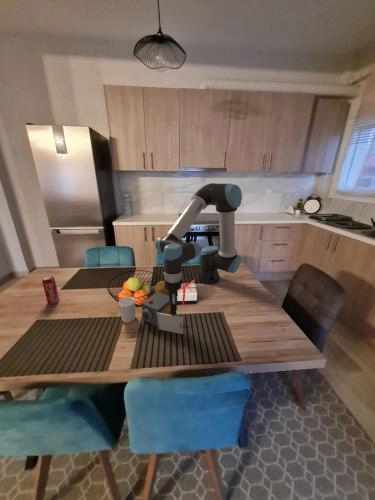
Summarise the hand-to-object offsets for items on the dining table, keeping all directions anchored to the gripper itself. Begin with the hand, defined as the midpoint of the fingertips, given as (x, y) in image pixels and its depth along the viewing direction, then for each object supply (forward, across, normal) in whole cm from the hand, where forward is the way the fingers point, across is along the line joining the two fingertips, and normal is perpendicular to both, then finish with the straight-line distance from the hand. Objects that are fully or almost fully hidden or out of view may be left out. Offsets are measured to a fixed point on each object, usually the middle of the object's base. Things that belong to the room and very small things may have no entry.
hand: (173, 322), depth 99 cm
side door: (+2, +3, -2) cm, 4 cm away
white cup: (+3, -8, -22) cm, 24 cm away
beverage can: (+4, -28, -67) cm, 72 cm away
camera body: (+3, -7, -8) cm, 11 cm away
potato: (+3, -27, -5) cm, 27 cm away
